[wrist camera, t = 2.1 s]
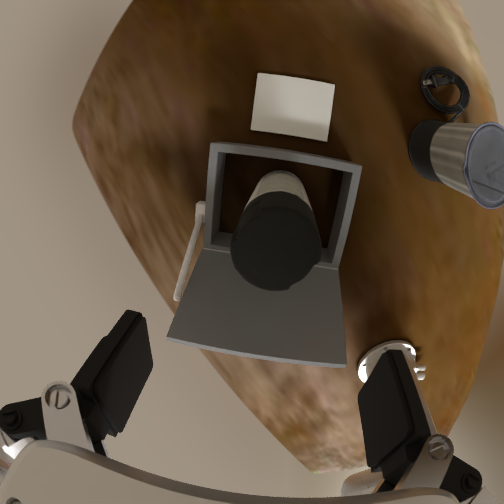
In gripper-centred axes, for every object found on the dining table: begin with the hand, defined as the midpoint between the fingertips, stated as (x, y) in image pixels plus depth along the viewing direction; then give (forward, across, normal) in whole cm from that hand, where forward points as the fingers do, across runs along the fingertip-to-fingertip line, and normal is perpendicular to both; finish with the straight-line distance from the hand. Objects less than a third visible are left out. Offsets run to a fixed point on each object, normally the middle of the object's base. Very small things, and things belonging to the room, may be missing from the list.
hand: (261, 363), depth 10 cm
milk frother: (+30, -21, -15) cm, 40 cm away
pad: (+30, 0, -12) cm, 32 cm away
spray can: (+30, 0, 0) cm, 30 cm away
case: (+30, 0, +3) cm, 30 cm away
